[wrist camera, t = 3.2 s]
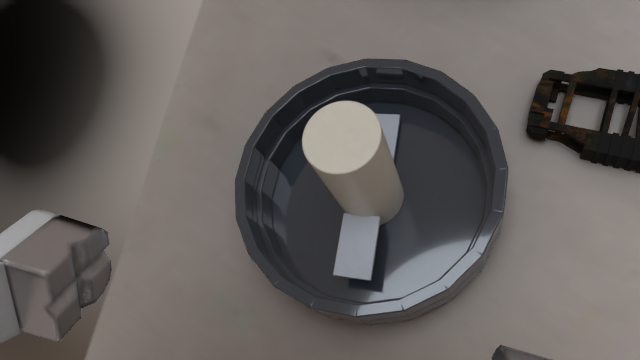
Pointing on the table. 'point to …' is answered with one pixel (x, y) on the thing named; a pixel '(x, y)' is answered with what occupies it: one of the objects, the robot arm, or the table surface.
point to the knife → (601, 143)
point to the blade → (356, 177)
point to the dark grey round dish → (417, 181)
